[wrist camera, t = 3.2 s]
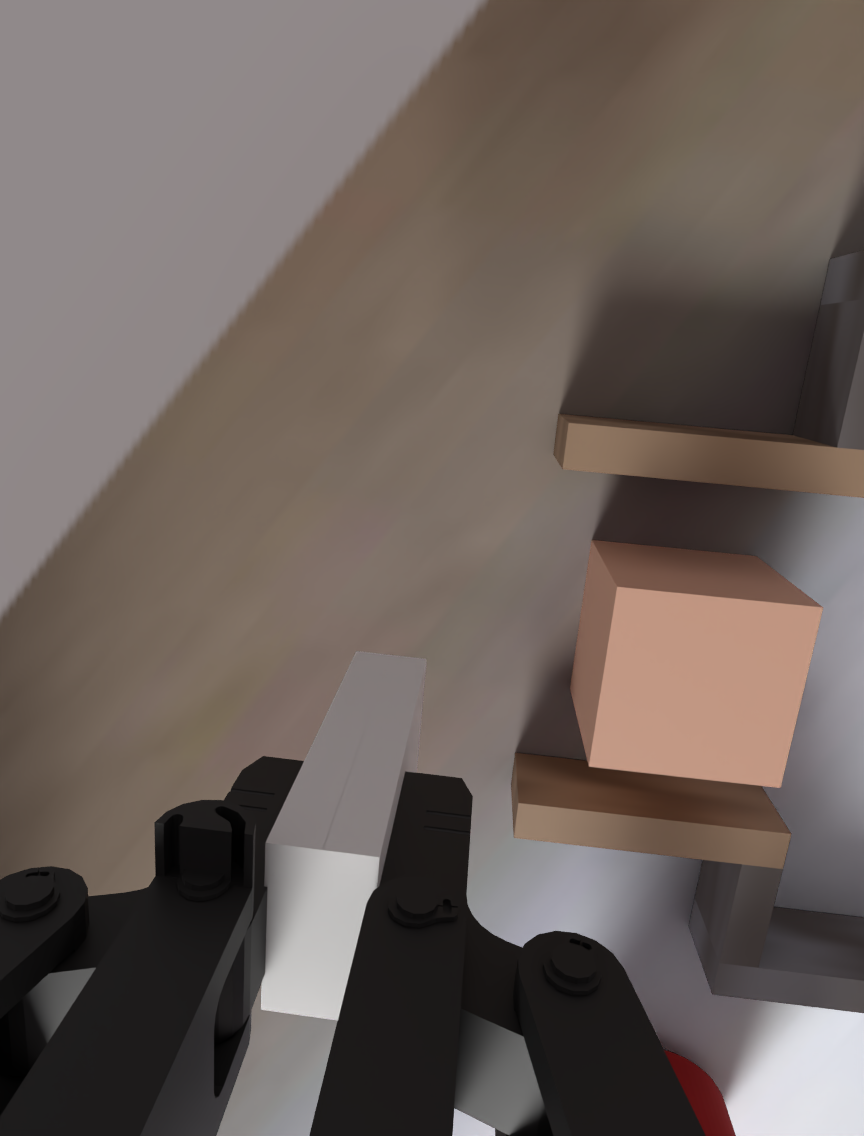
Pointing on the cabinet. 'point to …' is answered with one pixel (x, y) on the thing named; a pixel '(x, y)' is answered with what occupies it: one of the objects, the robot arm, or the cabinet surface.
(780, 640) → the block
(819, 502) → the cabinet surface
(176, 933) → the robot arm
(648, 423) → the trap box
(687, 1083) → the beverage can
